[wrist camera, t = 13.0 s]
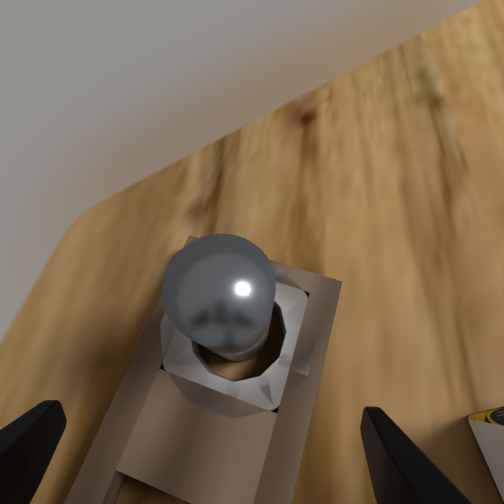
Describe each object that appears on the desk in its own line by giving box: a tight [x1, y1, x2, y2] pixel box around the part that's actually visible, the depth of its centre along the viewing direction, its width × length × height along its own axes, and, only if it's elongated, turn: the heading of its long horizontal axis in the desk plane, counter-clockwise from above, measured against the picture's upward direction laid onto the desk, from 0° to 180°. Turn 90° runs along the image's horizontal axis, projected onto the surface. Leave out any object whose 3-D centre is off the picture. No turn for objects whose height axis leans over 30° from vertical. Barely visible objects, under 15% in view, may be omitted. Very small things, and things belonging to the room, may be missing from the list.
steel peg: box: [162, 234, 276, 362], centre depth 17 cm, size 4×4×12 cm
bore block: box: [64, 235, 342, 504], centre depth 19 cm, size 12×22×2 cm, turn 161°
